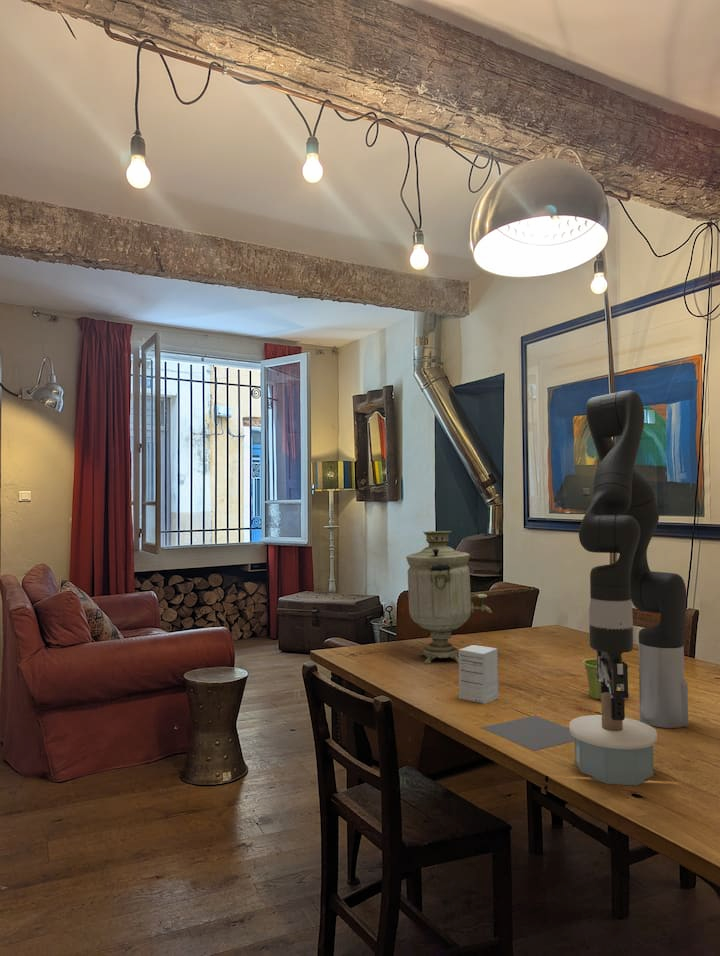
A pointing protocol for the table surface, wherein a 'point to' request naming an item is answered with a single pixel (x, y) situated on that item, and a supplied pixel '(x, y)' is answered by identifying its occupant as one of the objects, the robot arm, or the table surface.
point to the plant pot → (593, 678)
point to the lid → (612, 729)
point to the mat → (532, 732)
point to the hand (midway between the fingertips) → (612, 712)
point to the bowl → (614, 763)
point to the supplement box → (478, 674)
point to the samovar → (440, 593)
